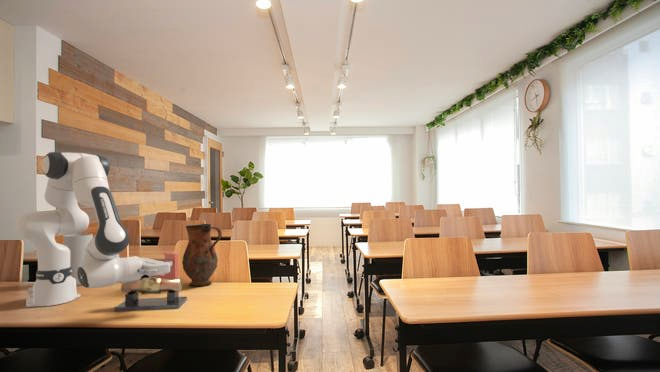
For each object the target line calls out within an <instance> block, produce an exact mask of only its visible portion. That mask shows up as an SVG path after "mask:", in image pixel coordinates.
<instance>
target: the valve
mask: <svg viewBox="0 0 660 372" xmlns="http://www.w3.org/2000/svg"><path fill="white" fill-rule="evenodd" d="M182 288H183V278H182V277H181V278H179V277H178V279H177V280H169V279H162V278H149V277H143V278H142V279H140V280H138V281H133V282H127V283H121V287H120V291H121V293H122V294H125V295H124V301H123V302H121V303H120V304H118V305H116V306H115V307H114V312H130V311H131V312H132V311H150V310H152V311H153V310H173V309H180V308H181V307H182V306H183V305H184V304H185V303H186V302H187V301H188V297H187V296H179V295H180V294H179V292H182ZM163 292H164V293H166V297H147V298H146V297H145V298H142V297H141V298H139V293H140V294H141V295H157V294H159V295H160V294H162V293H163Z"/></svg>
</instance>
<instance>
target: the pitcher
mask: <svg viewBox="0 0 660 372" xmlns="http://www.w3.org/2000/svg"><path fill="white" fill-rule="evenodd" d="M185 228H186V232H187V235H188V242H187V246H186V248H185V250H184V253H183V256H182V261H181V262H182V268H183V271H184V273H185V274H186V276H187V277H188V278H189V279H190V280H191V282H189V283H188V286H189V287H193V288H204V287H208V286H211V285H212V281H210V280H209V279H210V278H211V277H212V275H213V274H214V273H215V272H216V269H217V267H218V260H219V259H218V256H217V252H216V250H215V246H216V245H217V244H218V243H219V241H220V240H221V238H222V236H223V233H222V230H221V229H220V228H219V227H218V226H212V224H210V223H202V224H201V223H200V224H194V225H186V226H185ZM212 229H214V230H216V231H217V234H218V236H217V238H216V240H214V242H212V237H211V232H212Z"/></svg>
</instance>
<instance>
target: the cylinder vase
mask: <svg viewBox="0 0 660 372" xmlns="http://www.w3.org/2000/svg"><path fill="white" fill-rule="evenodd" d="M62 236H63V237H62V241H63V242H62V245H65V246H67V247H68V248H69V249H70V266H71V267H72V275H71V276H72V277H73V278H75V280H76V287H78V286H82V285H81V284H80V282H79V280H78V276H77V270H78V268H79V266H80V265H81V263H82V261H83V259H84V255H85V249H86V247H87V245H88V244H89V242H90V241H91V240H92V239H93V238H94V235H93V233H76V234H71V235H62Z"/></svg>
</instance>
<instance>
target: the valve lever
mask: <svg viewBox="0 0 660 372" xmlns="http://www.w3.org/2000/svg"><path fill="white" fill-rule="evenodd" d="M164 260H168V261H172V262H173V265H172V266H170V272H169V273H167V274H160V275H153V276H148V278H162V279H169V280H177V279H179V253H178V252H169V251H167V252H164Z"/></svg>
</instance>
